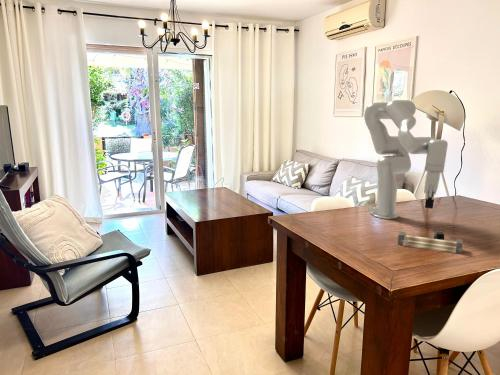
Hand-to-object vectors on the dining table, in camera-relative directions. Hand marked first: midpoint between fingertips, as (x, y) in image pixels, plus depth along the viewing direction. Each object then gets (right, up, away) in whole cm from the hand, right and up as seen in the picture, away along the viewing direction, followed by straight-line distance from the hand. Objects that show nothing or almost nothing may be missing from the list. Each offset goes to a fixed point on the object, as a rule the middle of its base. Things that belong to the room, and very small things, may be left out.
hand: (428, 207), depth 169 cm
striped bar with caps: (-9, -15, -18) cm, 25 cm away
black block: (-2, -14, -12) cm, 19 cm away
